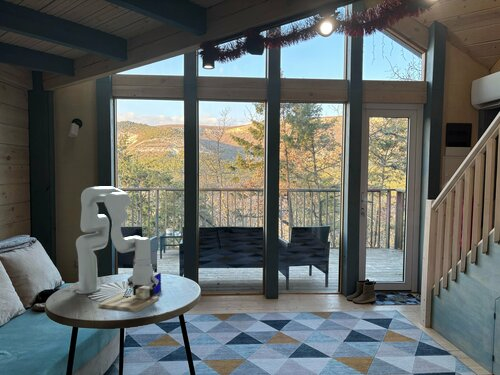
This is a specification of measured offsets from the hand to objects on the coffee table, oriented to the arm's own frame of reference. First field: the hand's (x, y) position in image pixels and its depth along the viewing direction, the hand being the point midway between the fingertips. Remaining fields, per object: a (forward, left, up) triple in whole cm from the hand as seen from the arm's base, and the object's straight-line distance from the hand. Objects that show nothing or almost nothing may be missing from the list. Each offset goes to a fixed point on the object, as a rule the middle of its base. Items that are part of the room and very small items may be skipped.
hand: (143, 295), depth 184 cm
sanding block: (0, +1, -1) cm, 1 cm away
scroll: (-23, +29, -3) cm, 37 cm away
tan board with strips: (-5, -5, -3) cm, 8 cm away
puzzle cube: (-6, +13, -3) cm, 15 cm away
